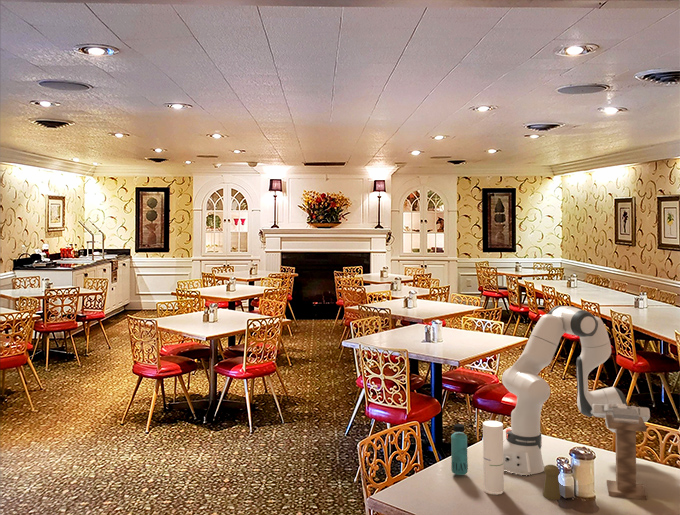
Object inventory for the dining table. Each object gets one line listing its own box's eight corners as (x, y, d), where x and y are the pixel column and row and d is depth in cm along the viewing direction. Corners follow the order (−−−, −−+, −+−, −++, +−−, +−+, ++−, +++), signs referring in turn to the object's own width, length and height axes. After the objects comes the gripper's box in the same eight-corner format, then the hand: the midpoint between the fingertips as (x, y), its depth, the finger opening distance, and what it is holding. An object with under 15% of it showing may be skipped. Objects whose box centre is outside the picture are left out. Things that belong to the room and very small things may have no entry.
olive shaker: (562, 500, 200) (562, 469, 200) (544, 499, 201) (543, 468, 201) (559, 493, 206) (559, 463, 205) (541, 492, 207) (541, 462, 207)
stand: (609, 496, 202) (608, 424, 201) (606, 482, 213) (605, 414, 213) (647, 501, 198) (646, 427, 197) (642, 487, 209) (641, 417, 208)
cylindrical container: (490, 485, 214) (489, 419, 213) (507, 490, 209) (506, 423, 208) (480, 491, 209) (478, 423, 208) (497, 497, 204) (496, 428, 203)
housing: (613, 422, 203) (613, 413, 203) (609, 407, 220) (609, 400, 220) (639, 424, 201) (638, 415, 200) (632, 409, 217) (632, 401, 217)
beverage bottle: (449, 477, 221) (448, 426, 221) (453, 471, 227) (452, 421, 227) (466, 479, 219) (465, 428, 218) (469, 473, 225) (468, 423, 224)
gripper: (590, 405, 233) (591, 396, 221) (646, 409, 225) (650, 400, 214) (590, 421, 230) (592, 412, 219) (647, 426, 223) (652, 417, 211)
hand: (621, 407), depth 216 cm, fingers open, 7 cm apart
